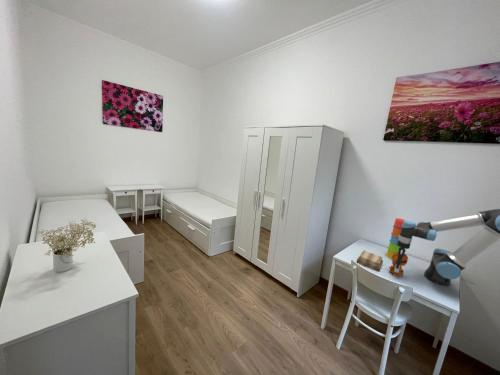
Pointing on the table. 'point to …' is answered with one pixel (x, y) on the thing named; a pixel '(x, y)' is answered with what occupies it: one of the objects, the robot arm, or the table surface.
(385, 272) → the table surface
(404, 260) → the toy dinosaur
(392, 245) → the stacking cups
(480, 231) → the robot arm
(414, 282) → the table surface
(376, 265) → the egg carton
